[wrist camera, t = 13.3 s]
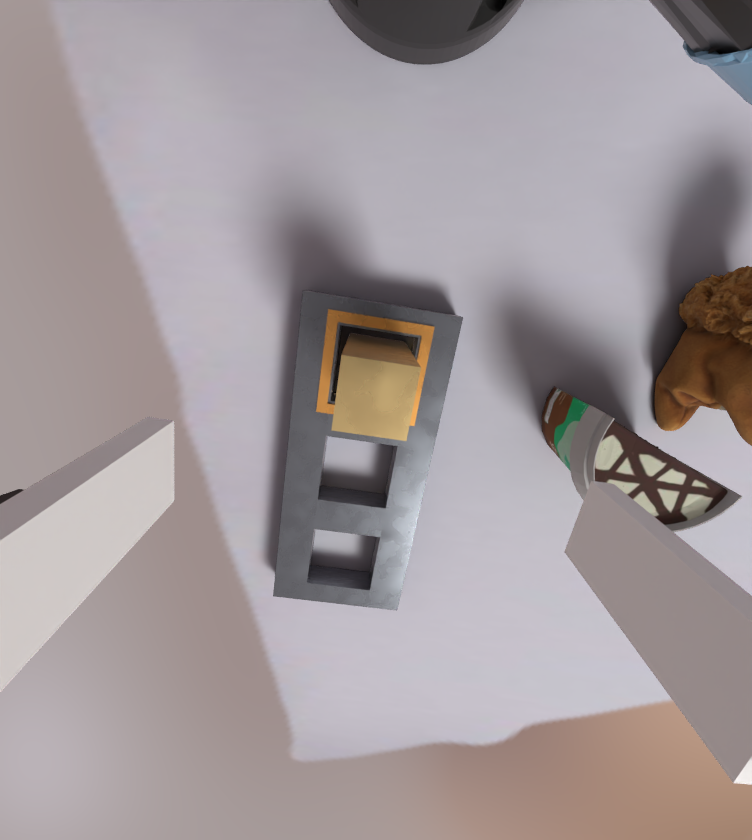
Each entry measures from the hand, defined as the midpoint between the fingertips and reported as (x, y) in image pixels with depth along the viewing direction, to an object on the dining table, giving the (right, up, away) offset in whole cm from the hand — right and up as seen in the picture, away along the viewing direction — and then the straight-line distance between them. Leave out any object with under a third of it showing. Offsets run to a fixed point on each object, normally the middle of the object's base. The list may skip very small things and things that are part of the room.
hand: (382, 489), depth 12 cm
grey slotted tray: (-2, -2, +23) cm, 24 cm away
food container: (+18, 0, +23) cm, 29 cm away
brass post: (0, +7, +21) cm, 22 cm away
